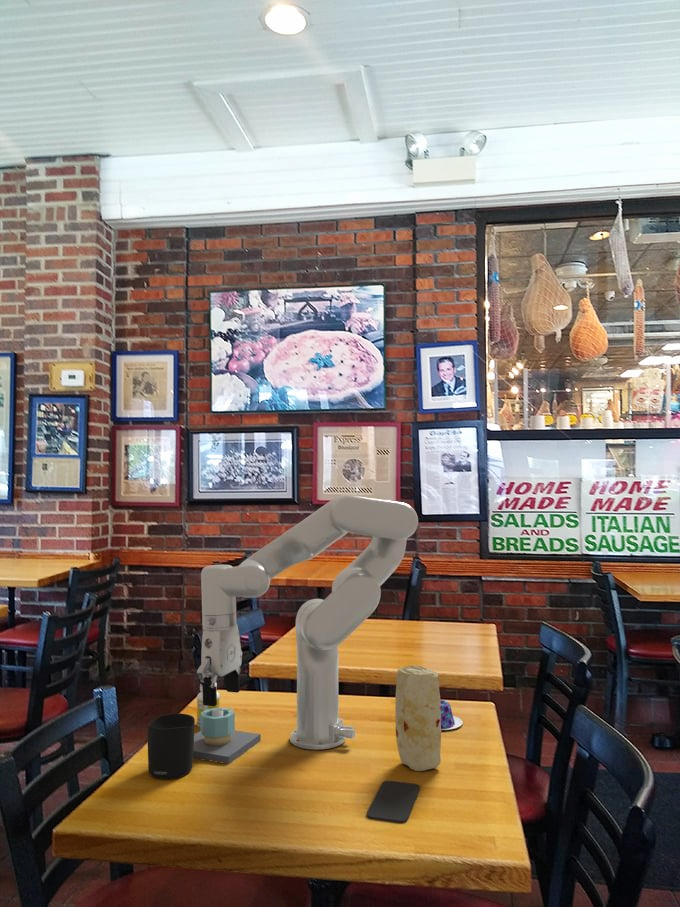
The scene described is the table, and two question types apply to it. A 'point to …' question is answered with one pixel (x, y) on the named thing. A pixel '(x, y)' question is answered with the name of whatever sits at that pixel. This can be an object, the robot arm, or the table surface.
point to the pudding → (448, 717)
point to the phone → (393, 802)
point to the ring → (217, 723)
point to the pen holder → (170, 745)
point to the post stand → (223, 744)
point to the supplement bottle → (202, 707)
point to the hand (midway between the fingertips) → (221, 698)
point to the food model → (418, 717)
